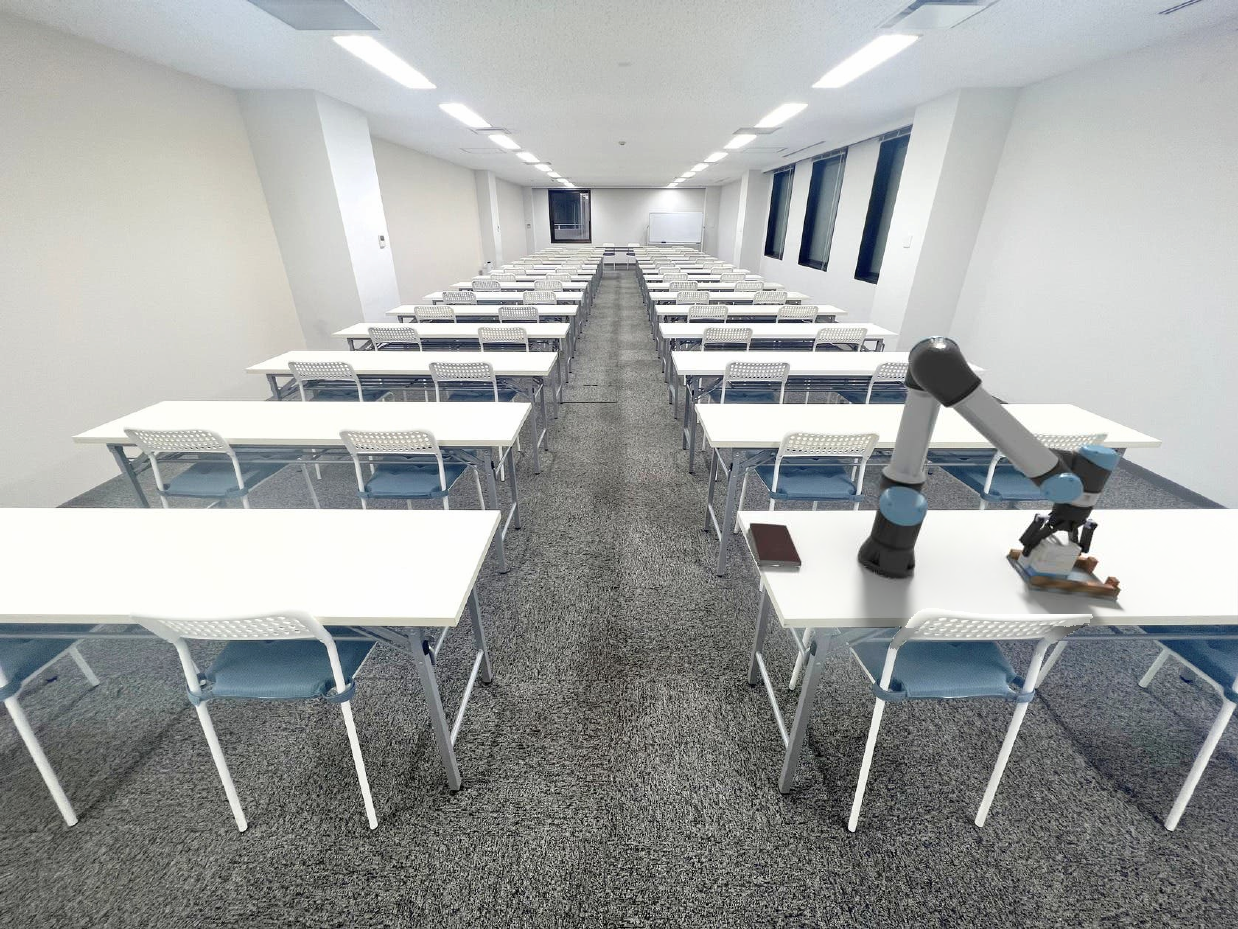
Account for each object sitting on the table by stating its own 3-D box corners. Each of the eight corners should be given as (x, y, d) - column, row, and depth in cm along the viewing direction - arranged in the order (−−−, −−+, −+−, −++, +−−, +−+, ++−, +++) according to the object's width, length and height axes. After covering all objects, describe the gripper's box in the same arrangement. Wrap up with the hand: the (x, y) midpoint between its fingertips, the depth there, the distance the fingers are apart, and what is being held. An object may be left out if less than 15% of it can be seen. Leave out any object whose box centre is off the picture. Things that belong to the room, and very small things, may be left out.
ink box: (1065, 583, 134) (1086, 544, 127) (1032, 579, 135) (1051, 540, 129) (1048, 564, 141) (1066, 526, 135) (1016, 560, 143) (1033, 523, 137)
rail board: (1031, 589, 133) (1038, 575, 131) (1006, 557, 146) (1012, 543, 144) (1116, 601, 129) (1125, 586, 127) (1082, 566, 142) (1089, 553, 140)
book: (785, 532, 160) (787, 524, 158) (800, 569, 142) (802, 560, 141) (747, 530, 160) (748, 522, 159) (758, 567, 143) (759, 558, 142)
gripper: (1037, 503, 126) (1006, 570, 136) (1132, 512, 122) (1093, 581, 132) (1023, 489, 133) (994, 554, 143) (1113, 498, 128) (1077, 565, 138)
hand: (1042, 567), depth 137 cm, fingers closed on ink box, 8 cm apart
